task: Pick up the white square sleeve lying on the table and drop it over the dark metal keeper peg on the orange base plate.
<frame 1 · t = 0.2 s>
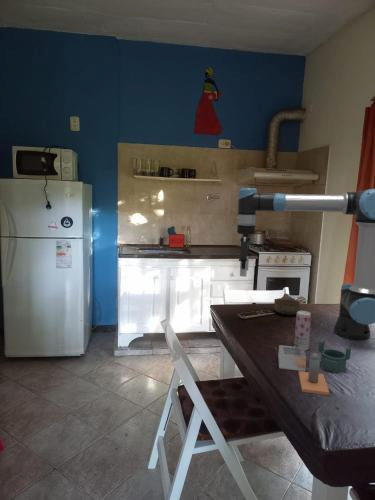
hand: (244, 273, 154), 28 cm above the table, fingers open, 13 cm apart
bowl: (285, 312, 190), on the table
white square sleeve: (291, 364, 130), on the table
keeper: (312, 383, 116), on the table
beverage can: (301, 348, 144), on the table
bracket: (332, 367, 128), on the table
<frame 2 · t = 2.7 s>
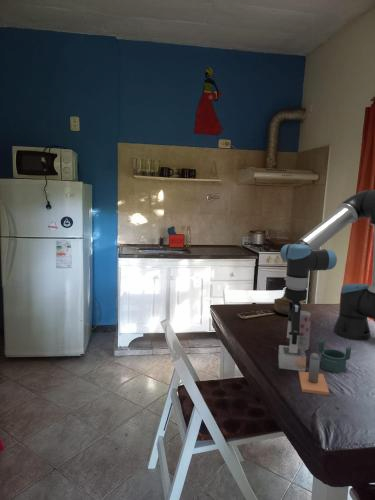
hand: (291, 344, 128), 7 cm above the table, fingers open, 13 cm apart
nothing on the table moved.
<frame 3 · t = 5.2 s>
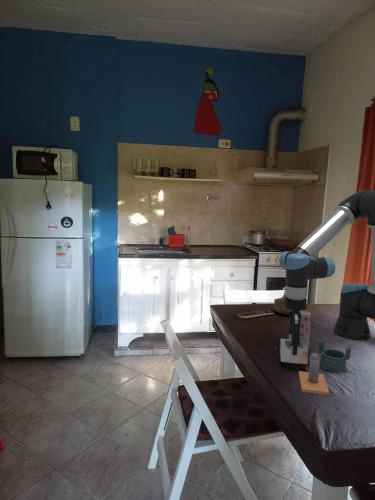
hand: (293, 356, 130), 3 cm above the table, fingers closed on white square sleeve, 9 cm apart
white square sleeve: (293, 357, 130), point 3 cm above the table, touching gripper
everything else where it was.
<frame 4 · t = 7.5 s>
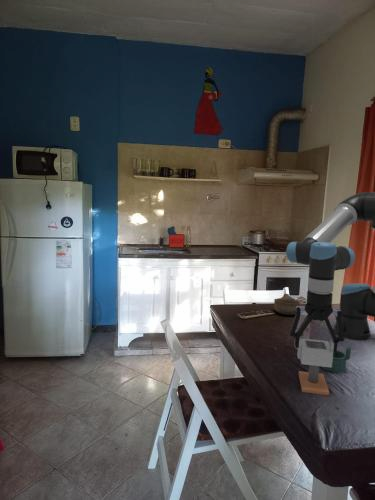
hand: (314, 358, 114), 9 cm above the table, fingers closed on white square sleeve, 9 cm apart
white square sleeve: (314, 359, 114), point 9 cm above the table, touching gripper
everything else where it was.
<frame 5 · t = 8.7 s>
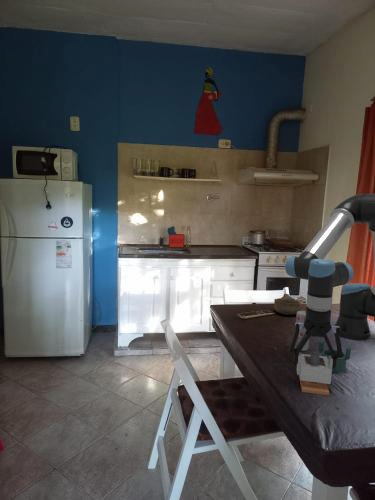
hand: (313, 374, 115), 3 cm above the table, fingers closed on white square sleeve, 9 cm apart
white square sleeve: (313, 375, 115), point 3 cm above the table, touching gripper
everything else where it was.
when the fingers open (3 cm above the table, at t = 9.6 s): white square sleeve drops 2 cm, resting on keeper.
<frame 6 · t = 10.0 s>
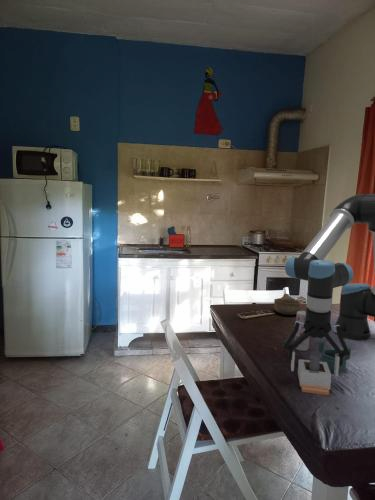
hand: (313, 371, 115), 4 cm above the table, fingers open, 13 cm apart
white square sleeve: (313, 381, 116), point 1 cm above the table, touching keeper
everything else where it was.
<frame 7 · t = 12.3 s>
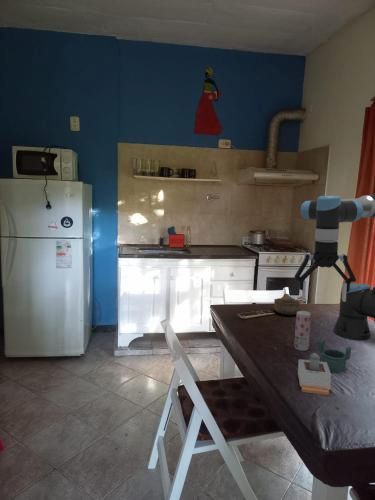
hand: (323, 299, 126), 25 cm above the table, fingers open, 13 cm apart
nothing on the table moved.
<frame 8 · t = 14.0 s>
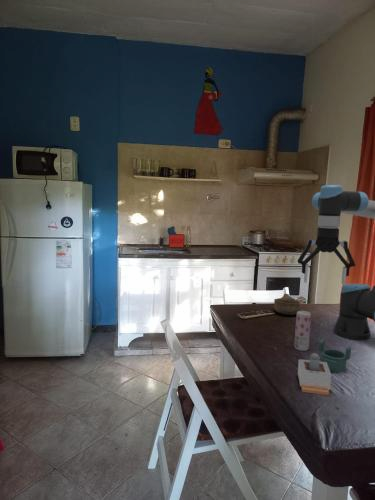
hand: (324, 283, 134), 29 cm above the table, fingers open, 13 cm apart
nothing on the table moved.
at the end: white square sleeve 0.0 cm off-centre on the keeper, point 1.0 cm above the keeper's base; the gripper is holding nothing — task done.
